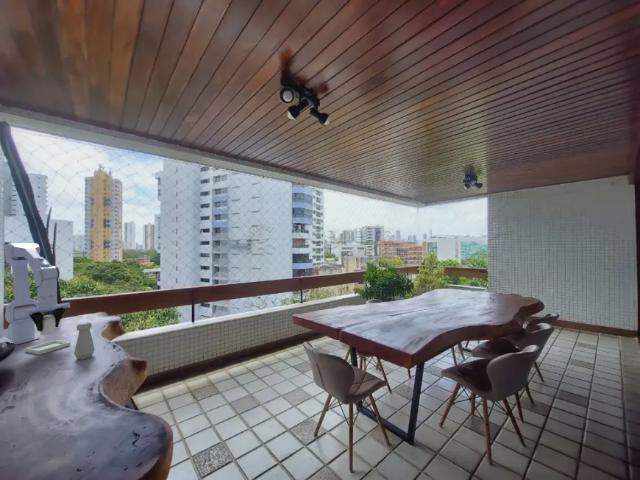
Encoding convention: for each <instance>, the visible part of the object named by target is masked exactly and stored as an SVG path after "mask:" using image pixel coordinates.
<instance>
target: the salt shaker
mask: <svg viewBox="0 0 640 480" xmlns="http://www.w3.org/2000/svg"><path fill="white" fill-rule="evenodd" d="M92 327H93V325H92V323H91V322H89V321H87V322H86V321H84V322H80V323H78V324H77V325H76V330H77V331H78V336H77V339H76V340H77V341H76V345H75V349H74V353H73V354H74V356H75V357H76V359H77V360H79V361H82V360H86V359H87V360H88V359H90V358H92V357H93V355H94V353H95V345H94V341H93V337H92V333H91V329H92Z"/></svg>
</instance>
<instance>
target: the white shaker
mask: <svg viewBox="0 0 640 480" xmlns="http://www.w3.org/2000/svg"><path fill="white" fill-rule="evenodd" d="M56 328H57V327H56V323H55V315H52V314H46V315H44V317H43V330H42V331H39V332H40V333H39V334H40V335H41V336H46V335H51V334H54V333H56V330H57V329H56Z"/></svg>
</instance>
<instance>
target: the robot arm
mask: <svg viewBox="0 0 640 480" xmlns="http://www.w3.org/2000/svg"><path fill="white" fill-rule="evenodd" d="M4 248H5V249H4V258H5V259H4V260H5V262H6V263H7V264H10V265H11V270H12V271H11V272H12V282H13V297H14V300H13V301H11V302H10V303H8V304H7V305H6V306H5V314H4V317H5V321H6V322H7V323H8V327H7V340H8V339H10V340H11V341H12V342H13V343H14V344H13V345H19V344H24V343H27V342H31V341H35V340H36V341H37V340H40V337H38V336H36V329H37V332H40V331H42V330H43V317H44V316H45V315H44V313H47V312H50V311H51V315H55V323H56V328H59V324H60V322H61V319H62V317H63V315H64V313H65V312H66V309H68V308H69V309H70V308H71V302H65V303H58V284H57V283H58V280H59V278H60V275H61V271H60V268H59V267H58V266H57V265H51V263H50V262H49V261H48V260H47V259H46V258H44V257H42V256H41V255H40V254H41V247H40V245H39V244H38V243H36V242H34V243H11V242H9V243H7V244H6V245H5V247H4ZM28 267H29V268H30V269H31V271H32V272H33V276H34V277H33V279H34V281H35V285H36V286H37V291H36V292H37V300H35V299H33V298H31V293H30V291H31V290H30V283H29V281H30V280H29V270H28ZM35 327H36V328H35Z"/></svg>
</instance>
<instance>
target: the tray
mask: <svg viewBox="0 0 640 480" xmlns="http://www.w3.org/2000/svg"><path fill="white" fill-rule="evenodd" d="M67 346H68V347H71V342H70V341H66V340H60V339H54V340H50V341H46V342H43V343H39V344H36V345H32V346H29V347H25V348H24V349H25V352H26V353H29V354H33V355H38V356H40V355H43V354H47V353H51V352H54V351H57V350H61V349H64V348H68V347H67Z"/></svg>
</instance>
